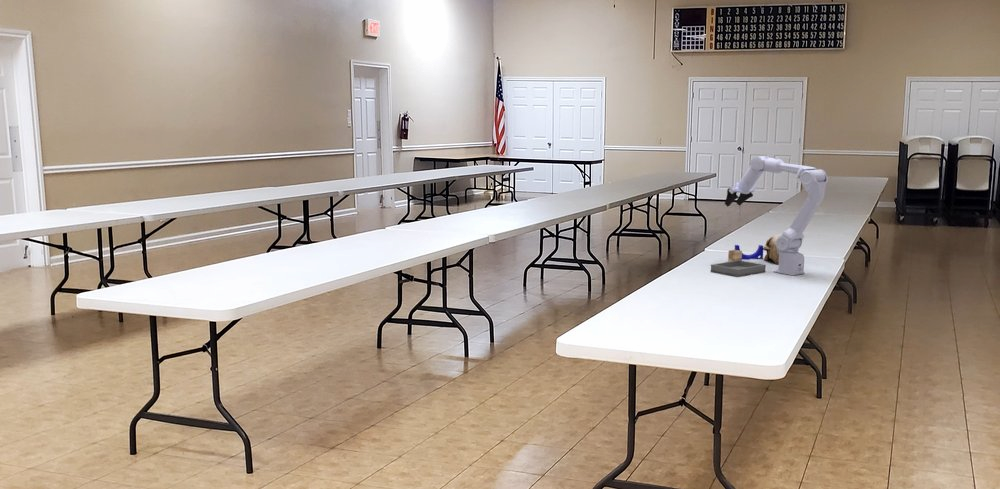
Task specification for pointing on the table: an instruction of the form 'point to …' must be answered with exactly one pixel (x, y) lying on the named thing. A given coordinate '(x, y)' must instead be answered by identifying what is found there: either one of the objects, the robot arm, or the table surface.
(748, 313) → the table surface
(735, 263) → the tray
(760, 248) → the cable clip
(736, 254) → the maple block
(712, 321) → the table surface
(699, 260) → the table surface
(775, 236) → the coin bank
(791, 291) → the table surface
